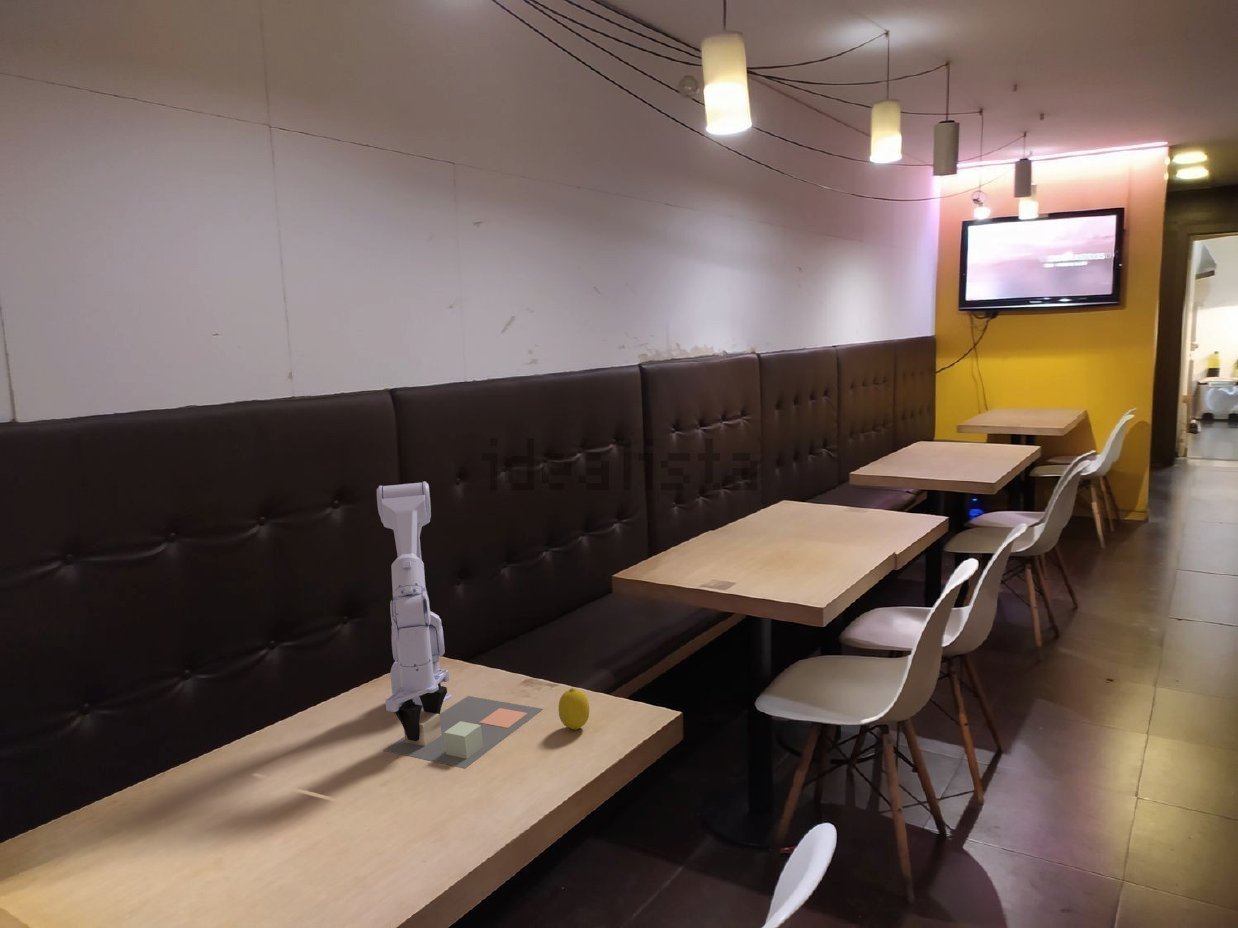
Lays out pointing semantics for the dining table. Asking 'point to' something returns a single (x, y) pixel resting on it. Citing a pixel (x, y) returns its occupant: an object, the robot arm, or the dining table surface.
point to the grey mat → (487, 713)
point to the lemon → (573, 709)
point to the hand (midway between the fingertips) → (423, 733)
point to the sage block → (463, 739)
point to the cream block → (427, 728)
